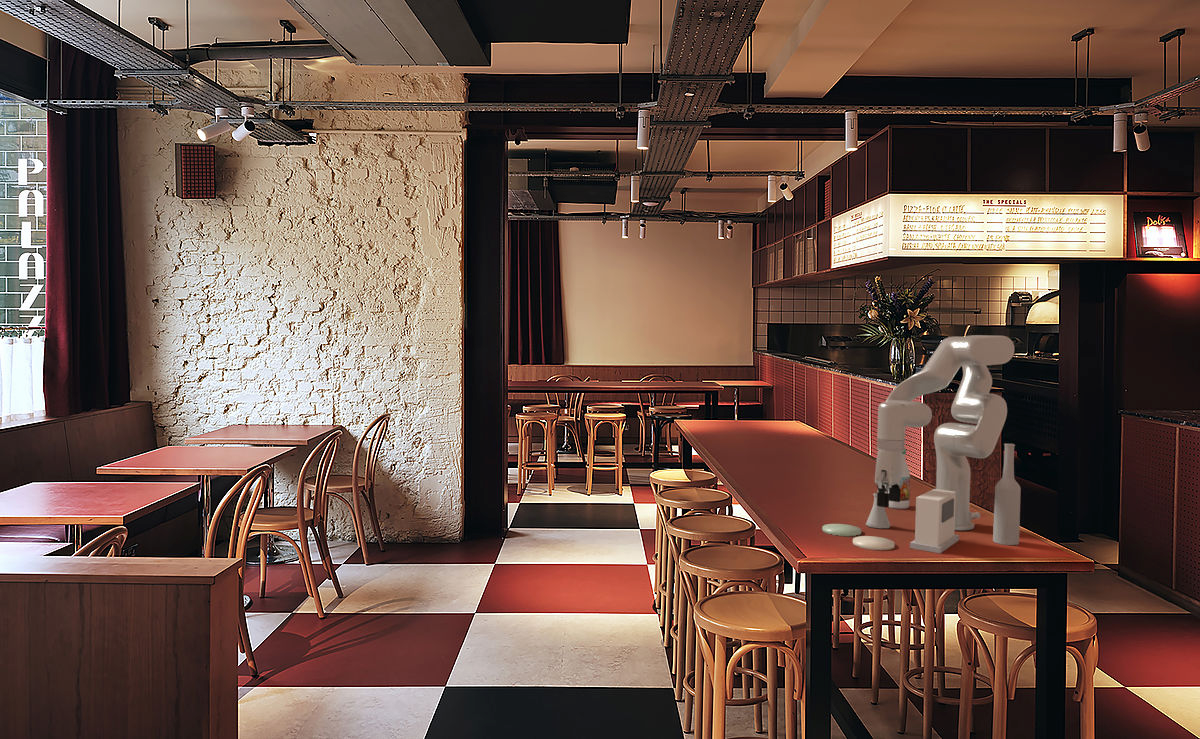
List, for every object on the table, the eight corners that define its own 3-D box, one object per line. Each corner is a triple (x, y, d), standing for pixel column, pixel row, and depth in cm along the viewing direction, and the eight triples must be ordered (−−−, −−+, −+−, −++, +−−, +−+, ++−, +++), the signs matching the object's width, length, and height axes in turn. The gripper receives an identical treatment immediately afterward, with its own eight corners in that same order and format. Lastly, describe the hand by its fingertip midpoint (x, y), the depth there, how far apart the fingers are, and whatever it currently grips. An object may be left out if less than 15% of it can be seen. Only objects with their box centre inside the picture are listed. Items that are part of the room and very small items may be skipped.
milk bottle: (884, 508, 270) (886, 449, 269) (885, 503, 277) (887, 446, 276) (908, 510, 267) (910, 450, 266) (909, 505, 274) (911, 447, 273)
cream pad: (875, 538, 230) (876, 534, 230) (903, 548, 220) (903, 544, 220) (844, 541, 226) (844, 537, 226) (870, 551, 216) (870, 548, 216)
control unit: (909, 548, 220) (911, 497, 219) (929, 535, 234) (931, 487, 233) (940, 553, 215) (941, 501, 214) (958, 540, 229) (960, 491, 228)
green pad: (844, 525, 244) (845, 522, 244) (869, 534, 234) (869, 531, 234) (814, 528, 240) (814, 525, 240) (838, 537, 230) (838, 534, 230)
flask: (892, 529, 240) (893, 496, 240) (867, 528, 241) (868, 495, 241) (888, 524, 247) (889, 492, 247) (864, 522, 249) (864, 490, 248)
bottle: (1007, 546, 223) (1011, 446, 221) (987, 540, 229) (991, 443, 227) (1024, 544, 225) (1028, 445, 224) (1004, 538, 231) (1007, 442, 230)
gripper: (888, 441, 240) (886, 497, 241) (866, 446, 227) (864, 506, 227) (913, 443, 235) (911, 501, 236) (893, 449, 222) (891, 510, 223)
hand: (888, 504), depth 232 cm, fingers open, 9 cm apart
